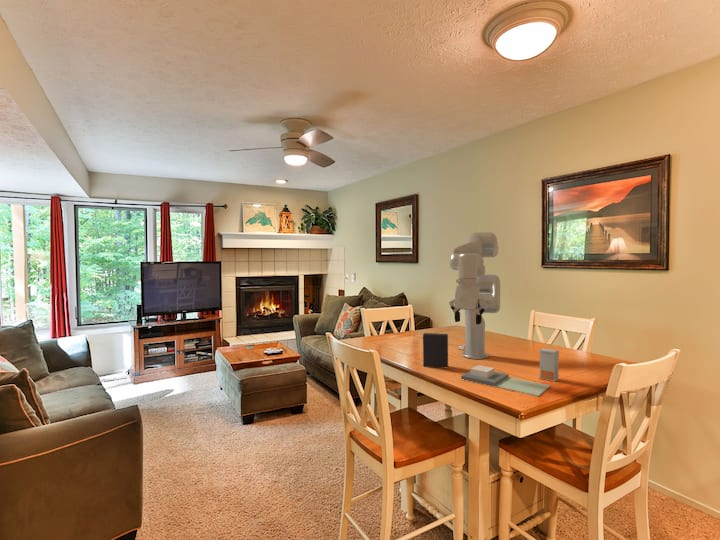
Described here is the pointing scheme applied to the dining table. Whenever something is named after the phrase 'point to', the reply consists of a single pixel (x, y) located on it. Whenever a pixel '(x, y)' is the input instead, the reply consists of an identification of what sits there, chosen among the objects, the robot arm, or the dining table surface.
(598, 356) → the dining table surface
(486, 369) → the coaster tile
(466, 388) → the dining table surface
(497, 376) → the board
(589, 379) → the dining table surface
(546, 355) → the skincare box
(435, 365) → the black rectangular block
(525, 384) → the mat
